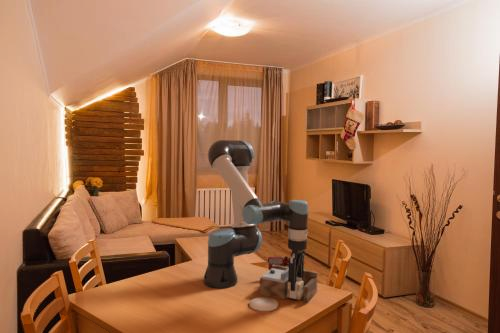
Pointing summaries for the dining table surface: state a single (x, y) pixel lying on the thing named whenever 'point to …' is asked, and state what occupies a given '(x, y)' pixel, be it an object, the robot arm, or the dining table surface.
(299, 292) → the block
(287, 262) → the toy fire truck
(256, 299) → the dish
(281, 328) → the dining table surface
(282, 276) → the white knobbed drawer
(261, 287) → the wooden frame
